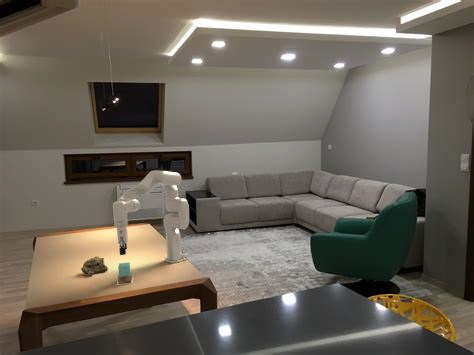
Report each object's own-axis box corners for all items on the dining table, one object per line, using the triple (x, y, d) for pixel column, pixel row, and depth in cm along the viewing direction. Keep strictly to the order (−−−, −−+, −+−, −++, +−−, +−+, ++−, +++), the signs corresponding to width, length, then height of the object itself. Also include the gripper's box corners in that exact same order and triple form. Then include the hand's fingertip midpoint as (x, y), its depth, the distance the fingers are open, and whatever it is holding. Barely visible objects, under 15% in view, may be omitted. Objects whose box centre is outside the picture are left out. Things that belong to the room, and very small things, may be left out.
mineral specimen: (85, 279, 237) (84, 263, 236) (79, 273, 247) (78, 258, 246) (109, 273, 245) (108, 258, 244) (102, 268, 256) (101, 253, 254)
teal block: (130, 272, 231) (129, 262, 230) (129, 275, 225) (129, 265, 224) (119, 273, 230) (119, 263, 229) (119, 277, 224) (118, 266, 223)
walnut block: (131, 278, 232) (131, 271, 231) (131, 282, 225) (130, 276, 225) (119, 279, 231) (118, 273, 230) (118, 284, 224) (117, 277, 223)
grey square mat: (139, 277, 236) (139, 275, 236) (139, 286, 223) (139, 284, 223) (112, 280, 233) (111, 278, 233) (109, 289, 220) (109, 287, 219)
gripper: (127, 226, 216) (129, 256, 218) (128, 218, 233) (131, 247, 235) (112, 227, 215) (115, 257, 217) (115, 220, 231) (117, 248, 234)
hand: (123, 252), depth 226 cm, fingers open, 9 cm apart
